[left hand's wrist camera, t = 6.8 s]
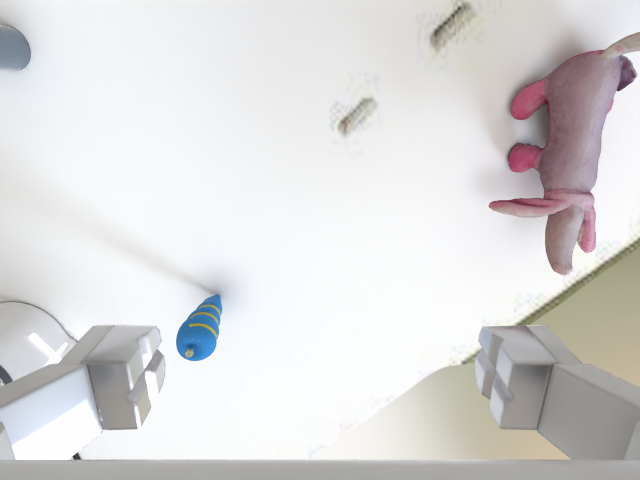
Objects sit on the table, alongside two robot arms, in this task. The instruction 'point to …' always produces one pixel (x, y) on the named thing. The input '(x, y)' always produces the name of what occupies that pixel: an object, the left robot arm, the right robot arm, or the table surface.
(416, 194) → the table surface
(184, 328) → the ornament
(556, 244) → the toy
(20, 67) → the bottle
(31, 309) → the right robot arm
